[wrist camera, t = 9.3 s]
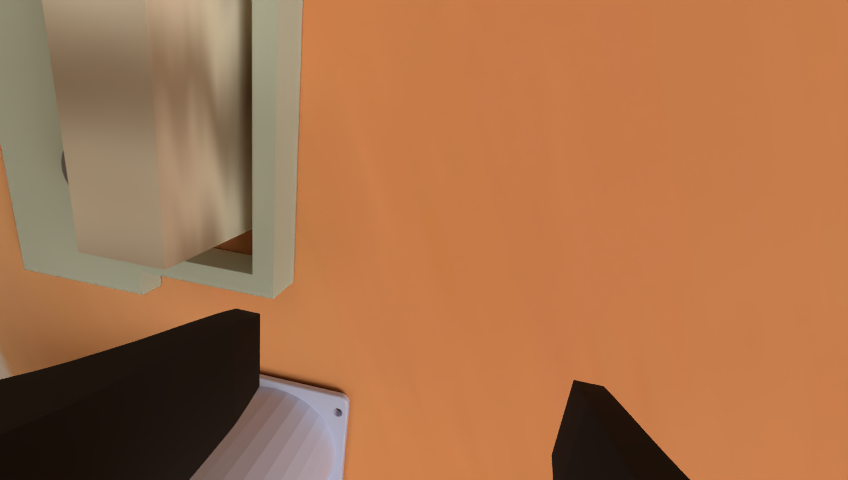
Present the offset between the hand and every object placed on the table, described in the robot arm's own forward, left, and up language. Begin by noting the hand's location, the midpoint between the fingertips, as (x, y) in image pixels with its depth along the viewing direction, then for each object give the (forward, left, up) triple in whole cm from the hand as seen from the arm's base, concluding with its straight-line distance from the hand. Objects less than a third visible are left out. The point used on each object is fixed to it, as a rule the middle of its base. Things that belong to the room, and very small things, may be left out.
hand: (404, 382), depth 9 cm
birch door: (+5, +11, -10) cm, 16 cm away
